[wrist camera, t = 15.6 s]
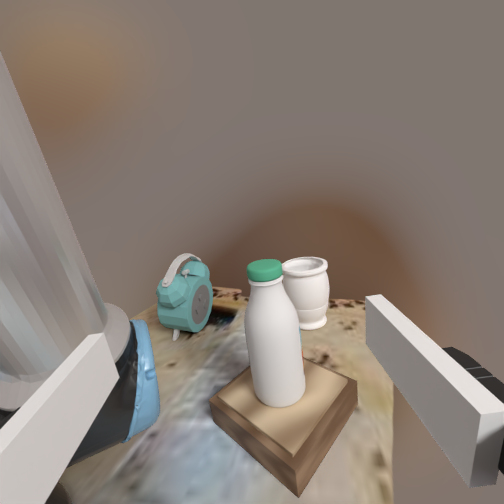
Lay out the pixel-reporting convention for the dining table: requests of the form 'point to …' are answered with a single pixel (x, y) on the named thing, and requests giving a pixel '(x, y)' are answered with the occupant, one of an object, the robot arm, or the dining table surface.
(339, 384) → the walnut stand
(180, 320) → the alarm clock
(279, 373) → the milk bottle
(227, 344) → the dining table surface
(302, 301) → the jar
